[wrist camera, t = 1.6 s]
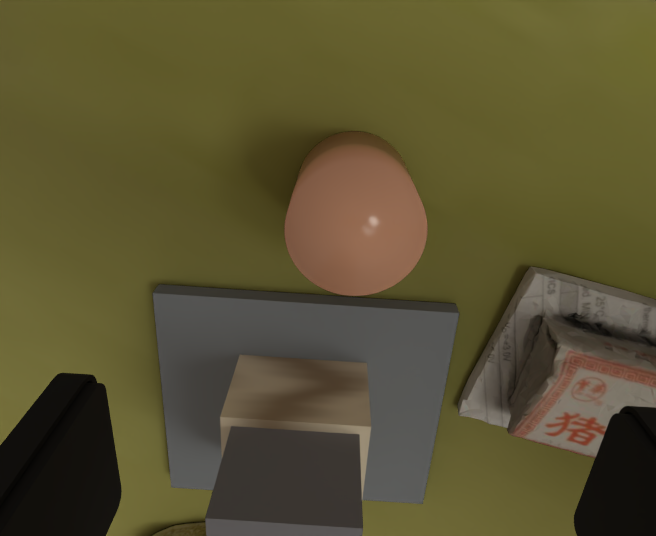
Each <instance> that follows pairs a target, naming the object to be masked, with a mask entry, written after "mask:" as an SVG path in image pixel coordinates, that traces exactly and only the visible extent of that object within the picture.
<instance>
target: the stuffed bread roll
mask: <svg viewBox="0 0 656 536" xmlns="http://www.w3.org/2000/svg"><path fill="white" fill-rule="evenodd" d="M152 536H206V523H205V522H202V523H191V524H182V525H175V526H172V527H169V528H166V529H164V530H162V531H160V532H157V533H156V534H154V535H152Z"/></svg>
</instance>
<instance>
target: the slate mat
mask: <svg viewBox="0 0 656 536" xmlns="http://www.w3.org/2000/svg"><path fill="white" fill-rule="evenodd" d="M153 302H154V313H155V323H156V333H157V344H158V354H159V364H160V375H161V385H162V395H163V406H164V416H165V426H166V437H167V447H168V457H169V468H170V478H171V487H173V488H189V489H204V490H213V489H214V485H215V482H216V478H217V475H218V471H219V467H220V464H221V460H222V453H221V427H220V416H221V413H222V409H223V406H224V403H225V400H226V397H227V394H228V390H229V387H230V384H231V381H232V378H233V375H234V371H235V368H236V365H237V362H238V359H239V355H253V356H268V357H284V358H299V359H314V360H329V361H345V362H360V363H367V371H368V386H369V401H370V417H371V432H370V441H369V449H368V457H367V465H366V474H365V482H364V490H363V498H362V500H372V501H387V502H402V503H417V504H423V500H424V494H425V489H426V484H427V479H428V474H429V468H430V463H431V458H432V453H433V448H434V442H435V437H436V432H437V427H438V422H439V416H440V411H441V406H442V401H443V396H444V390H445V385H446V380H447V375H448V369H449V364H450V359H451V354H452V349H453V343H454V338H455V333H456V328H457V323H458V317H459V311H458V309H457V306H456V304H452V303H436V302H421V301H406V300H390V299H375V298H360V297H344V296H329V295H314V294H298V293H283V292H268V291H253V290H237V289H222V288H207V287H191V286H176V285H161V284H159V285H158V286H157V288H156V289H155V290H154V292H153Z"/></svg>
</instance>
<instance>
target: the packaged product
mask: <svg viewBox="0 0 656 536" xmlns="http://www.w3.org/2000/svg"><path fill="white" fill-rule="evenodd" d="M624 406H639V407H656V299H652V298H649V297H646V296H642V295H638V294H635V293H632V292H629V291H626V290H622V289H618V288H614V287H611V286H607V285H603V284H600V283H596V282H592V281H588V280H585V279H581V278H577V277H574V276H570V275H566V274H562V273H558V272H554V271H551V270H547V269H543V268H537V267H531V266H530V268H529V269H528V270H527V272H526V273H525V275H524V277H523V279H522V281H521V283H520V284H519V286H518V288H517V290H516V292H515V294H514V296H513V298H512V299H511V301H510V303H509V305H508V307H507V309H506V311H505V312H504V314H503V316H502V318H501V320H500V322H499V324H498V326H497V327H496V329H495V331H494V333H493V335H492V336H491V338H490V340H489V342H488V344H487V345H486V347H485V349H484V351H483V353H482V355H481V357H480V358H479V360H478V362H477V364H476V366H475V368H474V369H473V371H472V373H471V375H470V377H469V379H468V381H467V383H466V385H465V387H464V390H463V392H462V395H461V397H460V400H459V403H458V414H459V416H465V417H471V418H475V419H479V420H483V421H485V422H487V423H489V424H493V425H498V426H502V427H506V428H507V431H508V433H509V434H510V435H512V436H516V437H521V438H524V439H527V440H530V441H533V442H537V443H540V444H544V445H547V446H551V447H555V448H559V449H563V450H567V451H571V452H574V453H577V454H581V455H585V456H589V457H593V458H596V455H597V453H598V450H599V447H600V445H601V442H602V439H603V437H604V434H605V431H606V429H607V426H608V423H609V421H610V418H611V417H612V415H614V414H616V413H619V412H620V410H621V409H622V408H623V407H624Z"/></svg>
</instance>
